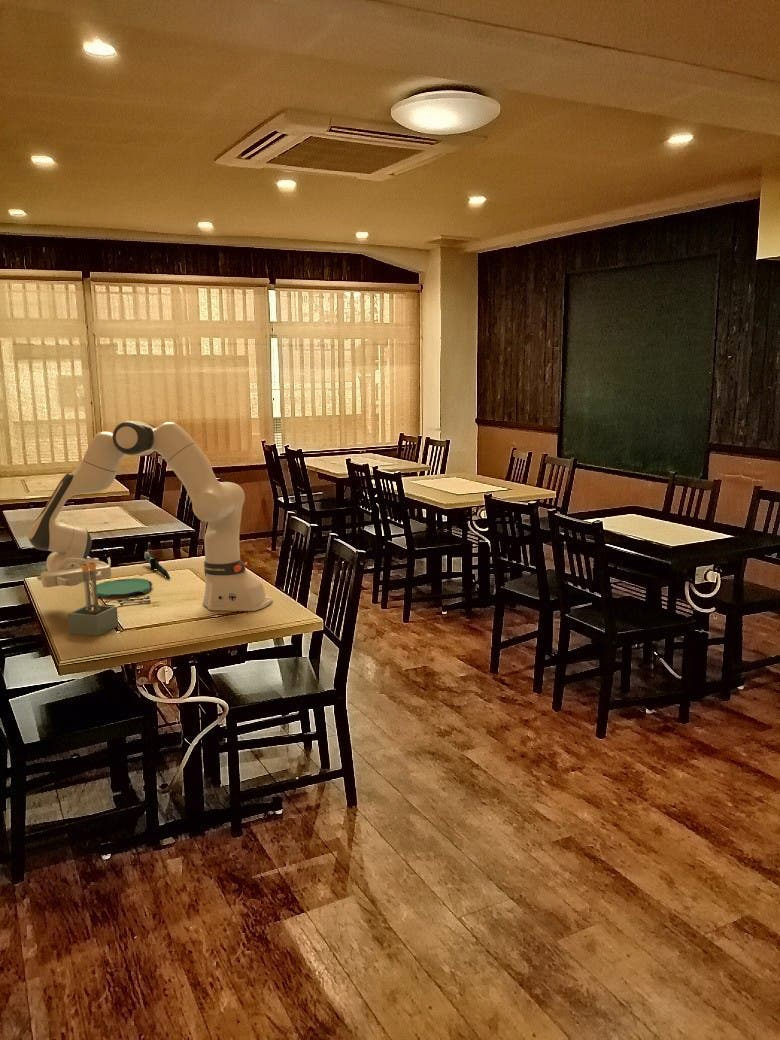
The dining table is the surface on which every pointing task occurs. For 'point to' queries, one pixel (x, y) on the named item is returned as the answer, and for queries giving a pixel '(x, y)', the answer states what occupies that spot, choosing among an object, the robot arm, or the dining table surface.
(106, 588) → the green cutting board
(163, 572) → the knife
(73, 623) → the open box
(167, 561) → the dining table surface
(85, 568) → the tongs
